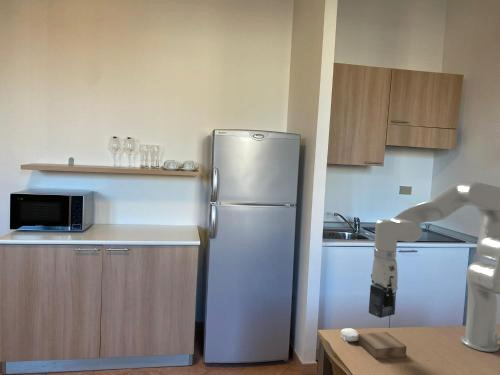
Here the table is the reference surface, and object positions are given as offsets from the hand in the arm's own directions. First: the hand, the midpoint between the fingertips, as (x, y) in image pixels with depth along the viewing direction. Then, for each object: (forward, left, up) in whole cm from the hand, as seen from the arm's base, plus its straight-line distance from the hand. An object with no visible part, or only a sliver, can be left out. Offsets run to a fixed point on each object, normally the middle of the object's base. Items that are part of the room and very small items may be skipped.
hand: (382, 302), depth 137 cm
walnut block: (0, +1, -18) cm, 18 cm away
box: (0, 0, -5) cm, 5 cm away
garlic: (+7, -9, -18) cm, 21 cm away
